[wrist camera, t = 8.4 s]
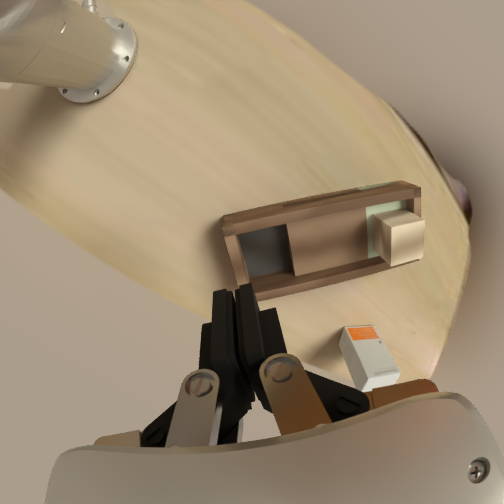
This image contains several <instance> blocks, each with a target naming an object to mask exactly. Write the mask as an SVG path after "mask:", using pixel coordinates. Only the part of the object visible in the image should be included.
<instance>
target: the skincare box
mask: <svg viewBox="0 0 504 504" xmlns="http://www.w3.org/2000/svg"><path fill="white" fill-rule="evenodd" d="M338 345H339V347H340V350H341V352H342V354H343V357H344V359H345V362H346V364H347V366H348V369H349V372H350V374H351V376H352V379H353V382H354V384H355V387H356V389H358V390H360V391H362V392H368V391H372V388H378V387H384V386H389V385H394V384H395V382H396V381H397V379H398V378H399V376H400V374H401V372H400V370H399V368H398V366H397V364H396V363H395V361H394V359H393V357H392V355H391V354H390V352H389V350H388V349H387V347H386V345H385V343H384V342H383V340H382V338H381V337H380V335H379V333H378V332H377V330H376V328H375V327H374V325H369V326H351V327H344V328H343V332H342V335H341V338H340V341H339V343H338Z"/></svg>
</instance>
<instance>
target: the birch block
mask: <svg viewBox="0 0 504 504" xmlns="http://www.w3.org/2000/svg"><path fill="white" fill-rule="evenodd" d="M372 218H373V250H374V251H376V252H377V253H378V254H379V255H380V256H381V257H382V258H383V259H384V260H385V261H386V262H387V263H388V264H389V265H390V266H395V265H398V264H402V263H405V262H409V261H412V260H416V259H419V258H423V248H424V232H425V220H424V219H422V218H421V217H419V216H417V215H415V214H414V213H412V212H410V211H408V210H406V209H405V208H401V209H396V210H391V211H386V212H381V213H376V214H372Z"/></svg>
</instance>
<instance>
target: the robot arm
mask: <svg viewBox="0 0 504 504" xmlns="http://www.w3.org/2000/svg"><path fill="white" fill-rule="evenodd" d="M136 53H137V37H136V34H135V32H134V30H133V29H132V27H131V26H130V25H129V24H128V23H127V22H125V21H123V20H122V19H119V18H115V17H107V18H101V17H100V16H99V13H98V12H97V11H96V0H84V1H83V2H82V5H80V4H78V3H77V2H75V1H74V0H0V82H8V83H22V84H33V85H42V86H50V87H57V88H58V91H59V92H60V94H61V95H62V96H63V97H64V98H66V99H67V100H69V101H72V102H77V103H88V102H92V101H96V100H98V99H100V98H103V97H104V96H106V95H107V94H109V93H110V92H111V91H113V90H114V89H115V88H116V87H117V86H118V85H119V84H120V83H121V82H122V81H123V80H124V78H125V77H126V75H127V74H128V72H129V71H130V69H131V67H132V65H133V63H134V60H135V57H136ZM128 59H129V60H128ZM127 60H128V61H127ZM98 93H99V94H98ZM235 300H236V302H235ZM254 391H255V392H254ZM255 393H256V395H257V397H258V400H260V401H261V404H262V406H263V408H264V409H265V410H267V411H269V412H271V413H273V414H274V417H275V420H276V422H277V425H278V428H279V430H280V433H281V436H278V437H273V438H267V439H261V440H255V441H248V442H242V432H243V418H242V417H243V416H244V415H245V414H246V413H247V412H248V410H250V409H252V407H251V402H254V401H255ZM45 504H504V456H503V454H502V452H501V450H500V447H499V445H498V443H497V441H496V439H495V437H494V435H493V434H492V431H491V430H490V428H489V426H488V425H487V423H486V421H485V420H484V418H483V417H482V415H481V414H480V412H479V411H478V410H477V408H476V407H475V406H474V405H473V404H472V402H470V401H469V400H468V399H467V398H466V397H464V396H463V395H461V394H458V393H453V392H439V391H438V388H437V386H436V385H435V383H433V382H432V381H431V380H428V379H417V380H413V381H409V382H404V383H399V384H394V385H389V386H384V387H378V388H372V391H368V392H362V391H360V390H358V389H355V388H352V387H349V386H346V385H343V384H341V383H338V382H335V381H332V380H329V379H327V378H324V377H321V376H319V375H317V374H314V373H312V372H309V371H306V370H304V368H303V366H302V364H301V362H300V360H299V359H298V358H297V357H295V356H294V355H291V354H287V350H286V346H285V342H284V338H283V334H282V330H281V326H280V323H279V319H278V315H277V311H276V307H275V308H271V309H267V310H263V311H260V310H259V306H258V303H257V300H256V296H255V293H254V289H253V286H252V283H247V284H243V285H239V289H236V290H235V299H234V296H233V293H232V291H228V292H227V289H222V290H218V291H214V292H213V306H212V322H210V323H205V324H203V325H202V331H201V345H200V358H199V370H196V371H194V372H191V373H190V374H189V375H187V377H186V378H185V379H184V380H183V382H182V384H181V388H180V392H179V395H178V399H177V401H176V402H175V403H174V404H173V405H172V406H170V407H169V408H168V409H167V410H166V411H165V412H163V413H162V414H161V415H160V416H159V417H158V418H157V419H155V420H154V421H153V422H152V423H151V424H149V425H148V426H147V427H146V428H145V429H144V431H142V432H141V431H139V430H136V431H131V432H125V433H120V434H115V435H109V436H103V437H100V438H98V439H97V440H96V441H95V443H94V445H87V446H81V447H76V448H73V449H70V450H68V451H65V452H64V453H62V454H61V455H60V456H59V457H58V458H57V460H56V462H55V464H54V466H53V469H52V472H51V475H50V479H49V483H48V488H47V493H46V498H45Z"/></svg>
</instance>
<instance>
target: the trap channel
mask: <svg viewBox="0 0 504 504" xmlns="http://www.w3.org/2000/svg"><path fill="white" fill-rule="evenodd" d="M401 208H405V209H406V210H408V211H410V212H412V213H414V214H415V215H417V216H419V217H421V187H418V186H416V185H413V184H410V183H408V182H405V181H396V182H390V183H384V184H377V185H371V186H365V187H360V188H354V189H348V190H343V191H337V192H332V193H327V194H321V195H316V196H311V197H306V198H301V199H296V200H291V201H286V202H282V203H277V204H272V205H268V206H263V207H258V208H254V209H249V210H245V211H241V212H236V213H232V214H228V215H223V221H222V227H221V228H222V231H223V235H224V239H225V242H226V246H227V249H228V253H229V256H230V260H231V264H232V267H233V271H234V274H235V278H236V281H237V285H238V288H239V285H243V284H247V283H252V286H253V289H254V293H255V296H256V300H257V302H258V301H262V300H267V299H272V298H276V297H281V296H285V295H290V294H294V293H298V292H303V291H307V290H311V289H315V288H319V287H324V286H328V285H332V284H336V283H340V282H343V281H347V280H351V279H355V278H359V277H362V276H366V275H370V274H374V273H377V272H381V271H384V270H388V269H391V268H395V267H398V266H402V265H405V264H409V263H412V262H415V261H419V259H416V260H412V261H409V262H405V263H402V264H398V265H395V266H390V265H389V264H388V263H387V262H386V261H385V260H384V259H383V258H382V257H381V256H380V255H379V254H378V253H377V252H376V251H374V250H373V218H372V214H376V213H381V212H386V211H391V210H396V209H401Z"/></svg>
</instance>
